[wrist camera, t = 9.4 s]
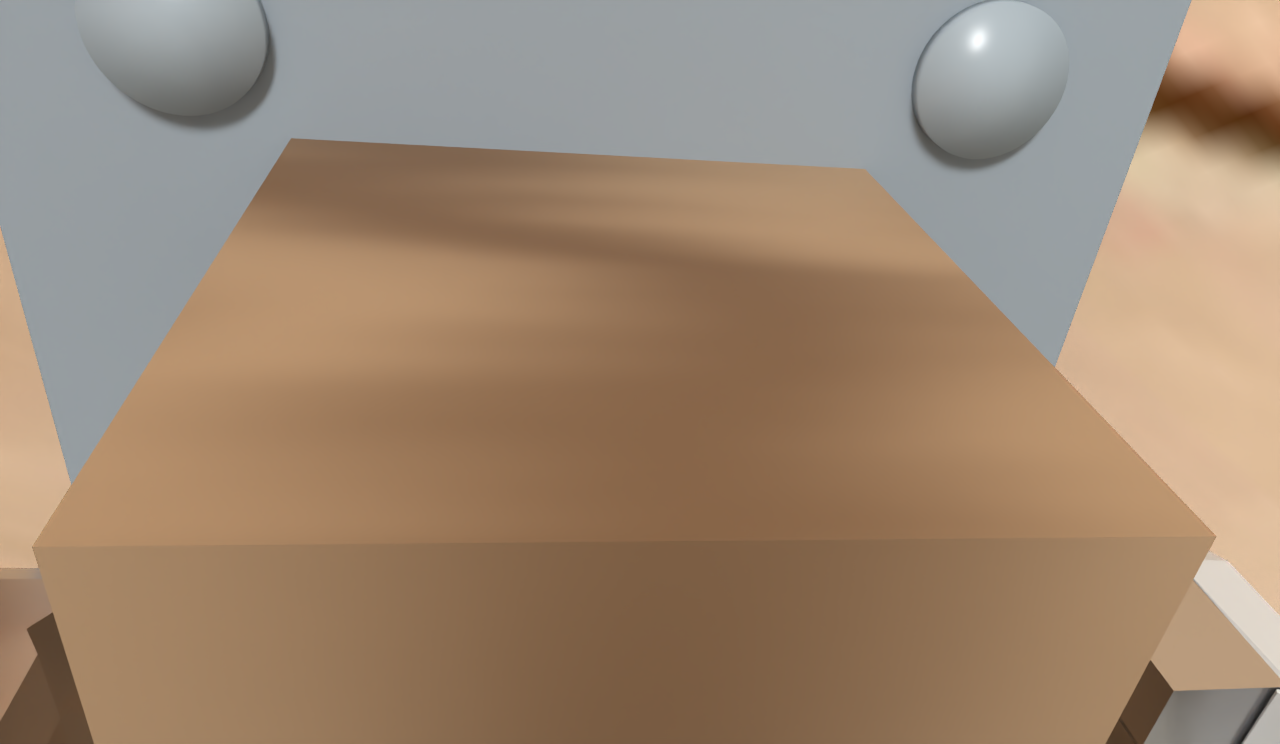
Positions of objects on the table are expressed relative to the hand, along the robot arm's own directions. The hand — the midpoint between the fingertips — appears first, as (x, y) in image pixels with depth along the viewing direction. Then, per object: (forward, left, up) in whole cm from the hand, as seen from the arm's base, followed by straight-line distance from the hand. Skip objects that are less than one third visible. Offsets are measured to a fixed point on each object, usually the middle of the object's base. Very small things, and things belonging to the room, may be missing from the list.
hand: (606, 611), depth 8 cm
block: (0, 0, -4) cm, 4 cm away
